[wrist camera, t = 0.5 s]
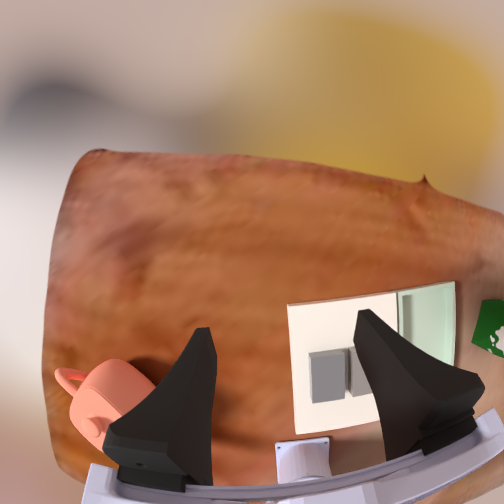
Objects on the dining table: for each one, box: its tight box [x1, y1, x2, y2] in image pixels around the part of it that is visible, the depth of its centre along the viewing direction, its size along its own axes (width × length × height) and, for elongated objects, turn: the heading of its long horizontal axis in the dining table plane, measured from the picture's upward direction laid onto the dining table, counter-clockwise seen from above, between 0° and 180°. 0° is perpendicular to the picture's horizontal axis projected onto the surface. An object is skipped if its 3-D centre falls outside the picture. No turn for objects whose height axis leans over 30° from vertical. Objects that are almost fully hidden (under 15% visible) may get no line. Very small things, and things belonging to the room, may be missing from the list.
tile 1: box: [348, 346, 372, 397], centre depth 30 cm, size 6×4×2 cm, turn 6°
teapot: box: [55, 359, 156, 453], centre depth 30 cm, size 13×20×12 cm, turn 52°
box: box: [390, 281, 456, 366], centre depth 32 cm, size 18×10×3 cm, turn 6°
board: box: [287, 292, 397, 434], centre depth 33 cm, size 18×14×3 cm
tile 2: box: [308, 349, 345, 404], centre depth 30 cm, size 6×4×2 cm, turn 6°
